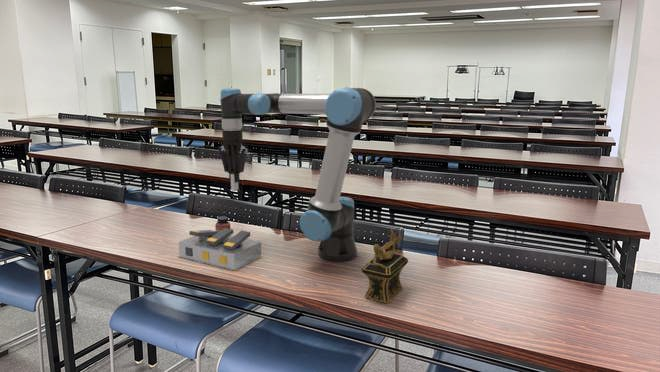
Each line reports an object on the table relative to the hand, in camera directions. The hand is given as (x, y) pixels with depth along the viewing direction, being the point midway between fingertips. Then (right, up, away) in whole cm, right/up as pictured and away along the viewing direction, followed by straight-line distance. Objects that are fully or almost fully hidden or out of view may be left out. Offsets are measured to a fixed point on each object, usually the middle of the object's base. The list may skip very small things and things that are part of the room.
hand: (234, 190), depth 183 cm
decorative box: (+55, -33, -33) cm, 72 cm away
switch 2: (-4, -17, -8) cm, 19 cm away
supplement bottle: (-6, -22, +8) cm, 25 cm away
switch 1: (-11, -16, -4) cm, 20 cm away
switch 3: (+3, -18, -11) cm, 22 cm away
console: (-4, -25, -6) cm, 26 cm away
